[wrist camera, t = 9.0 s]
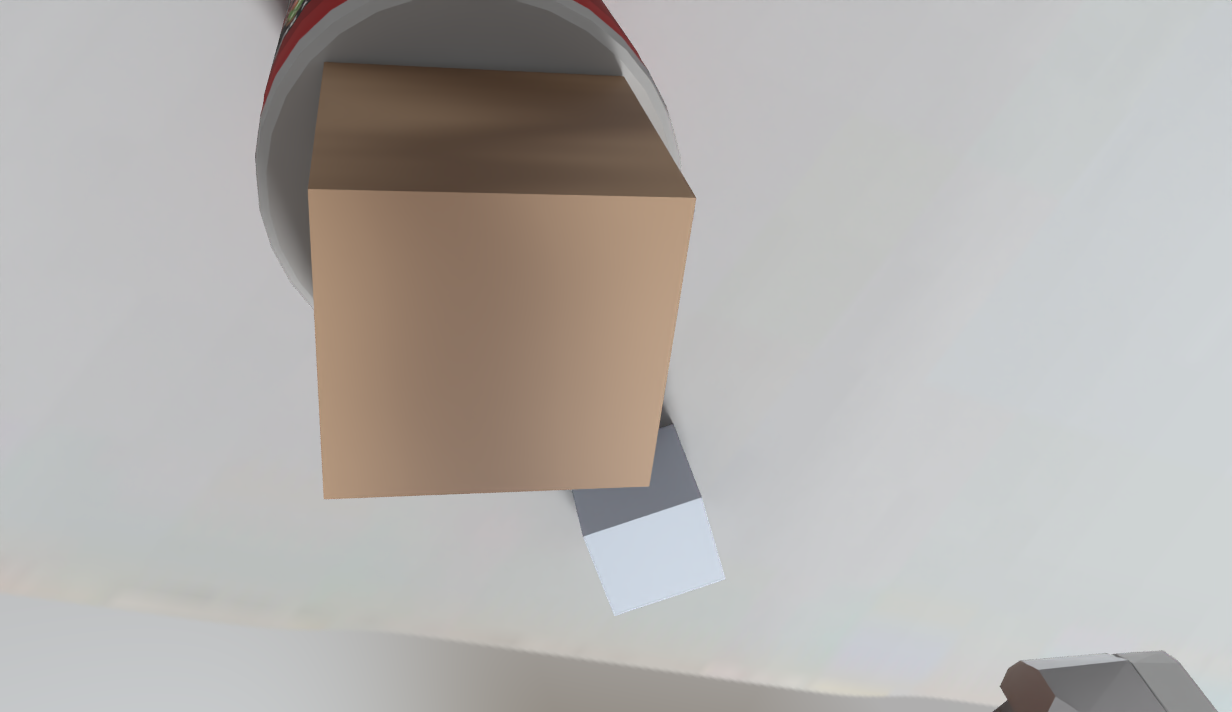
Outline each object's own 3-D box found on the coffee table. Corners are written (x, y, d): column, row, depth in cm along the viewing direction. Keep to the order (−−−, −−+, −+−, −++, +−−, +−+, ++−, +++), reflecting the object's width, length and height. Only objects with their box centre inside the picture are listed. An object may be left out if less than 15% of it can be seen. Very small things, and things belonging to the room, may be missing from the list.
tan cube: (623, 76, 18) (695, 197, 14) (595, 323, 21) (649, 485, 17) (324, 61, 17) (308, 189, 13) (334, 324, 20) (323, 498, 16)
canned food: (407, -206, 25) (427, -130, 16) (648, 11, 29) (774, 172, 20) (230, 46, 27) (159, 238, 18) (475, 215, 31) (516, 442, 22)
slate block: (672, 422, 37) (701, 497, 34) (696, 502, 39) (725, 579, 36) (564, 458, 37) (583, 536, 34) (594, 535, 39) (614, 616, 36)
